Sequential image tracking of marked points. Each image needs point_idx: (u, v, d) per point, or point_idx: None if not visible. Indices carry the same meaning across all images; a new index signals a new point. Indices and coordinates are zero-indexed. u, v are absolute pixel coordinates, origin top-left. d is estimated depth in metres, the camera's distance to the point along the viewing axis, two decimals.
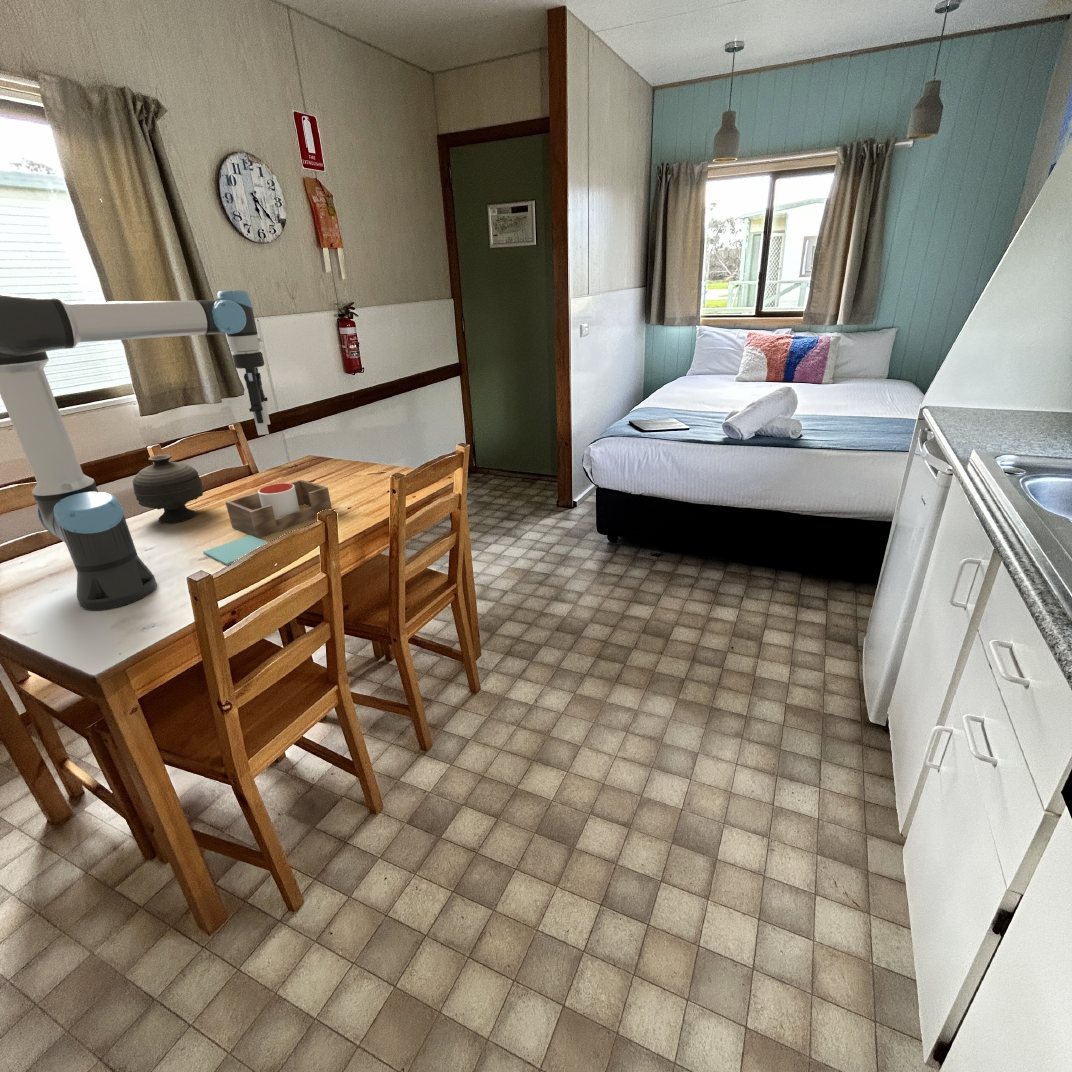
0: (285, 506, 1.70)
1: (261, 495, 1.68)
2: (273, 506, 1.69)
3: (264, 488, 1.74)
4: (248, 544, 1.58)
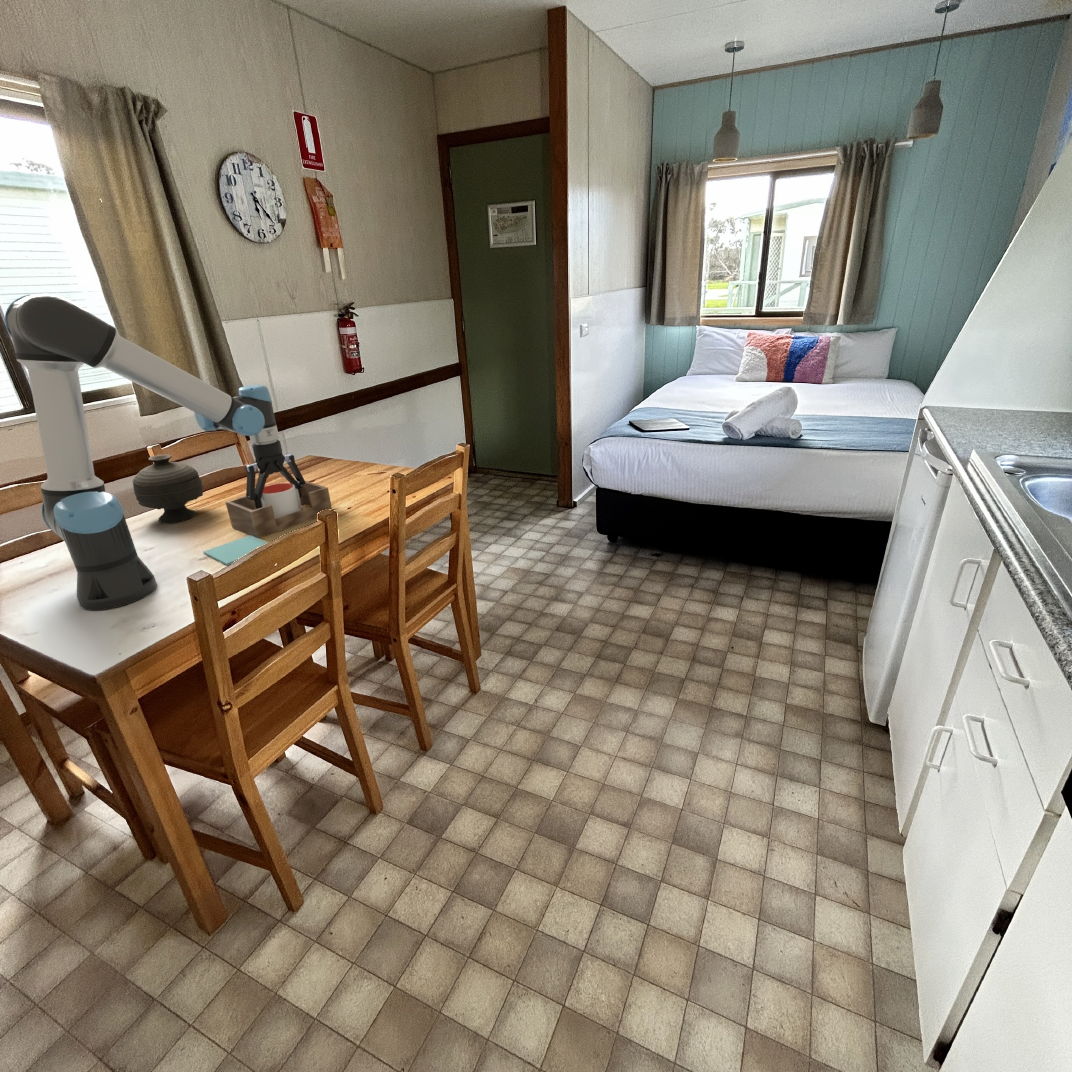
0: (285, 506, 1.70)
1: None
2: (273, 506, 1.69)
3: (264, 488, 1.74)
4: (248, 544, 1.58)
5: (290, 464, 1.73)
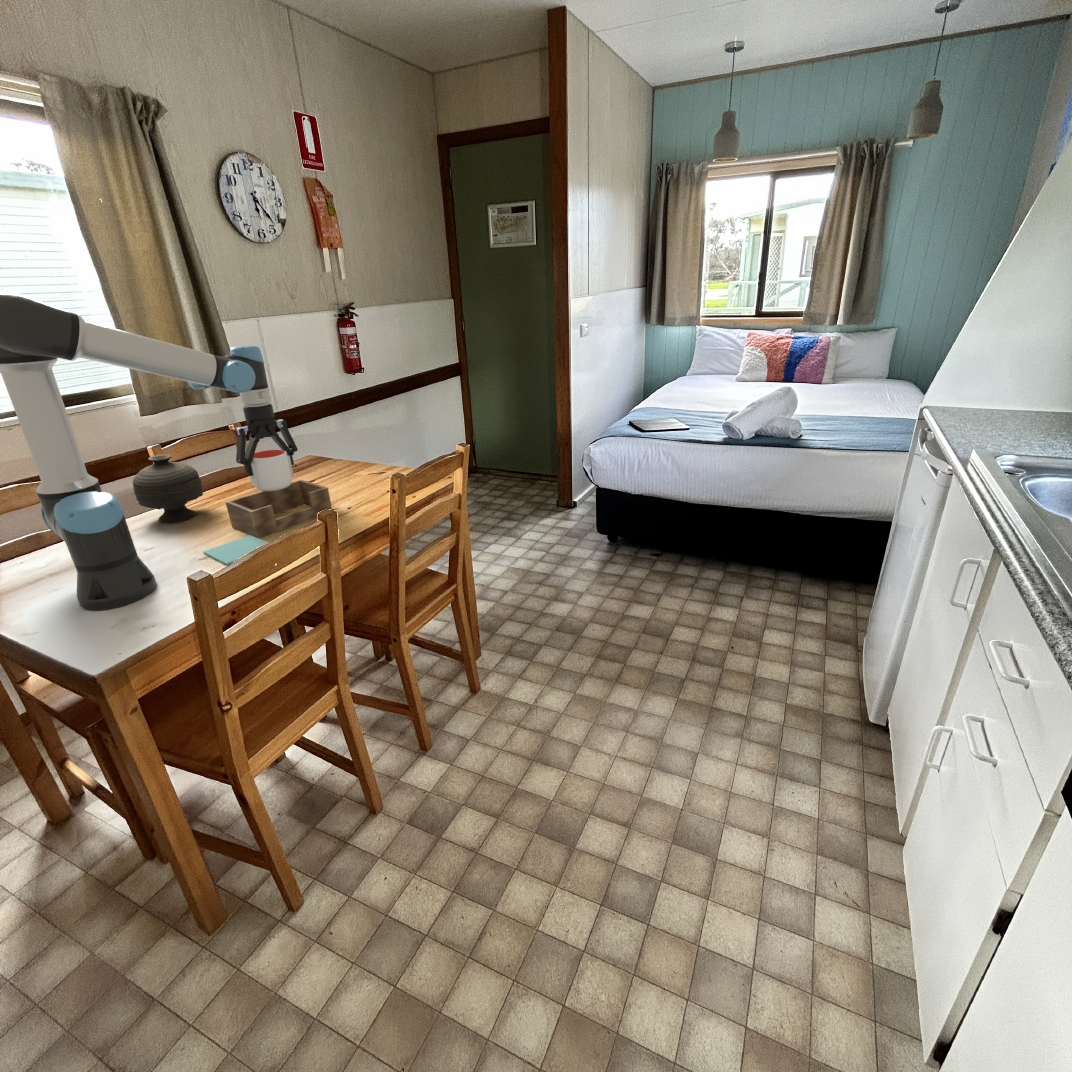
0: (276, 471, 1.66)
1: (252, 460, 1.64)
2: (264, 471, 1.64)
3: (255, 454, 1.69)
4: (248, 544, 1.58)
5: (282, 430, 1.69)
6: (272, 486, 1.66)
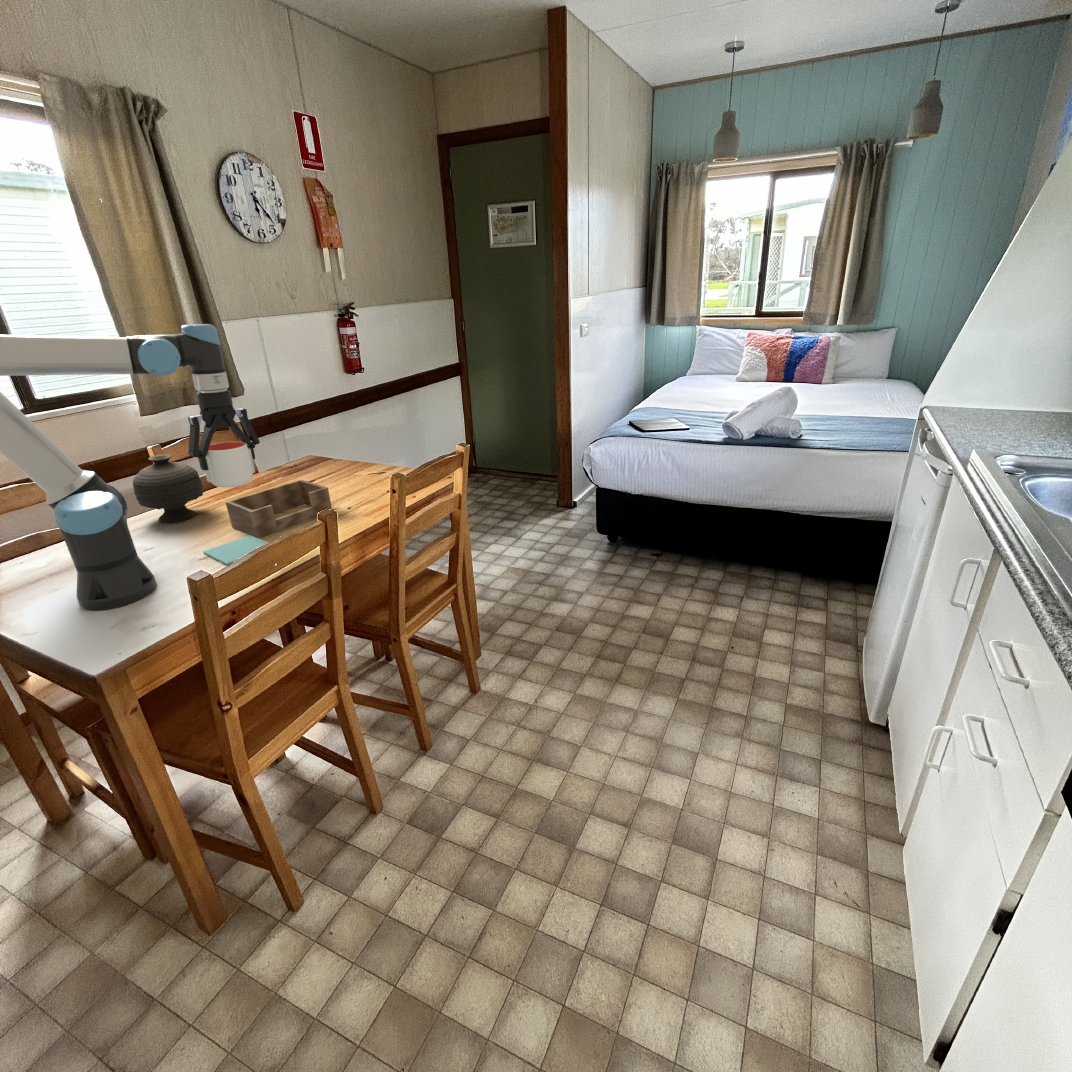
0: (235, 466, 1.49)
1: (207, 452, 1.47)
2: (221, 465, 1.47)
3: (211, 446, 1.52)
4: (248, 544, 1.58)
5: (242, 419, 1.52)
6: (230, 482, 1.49)
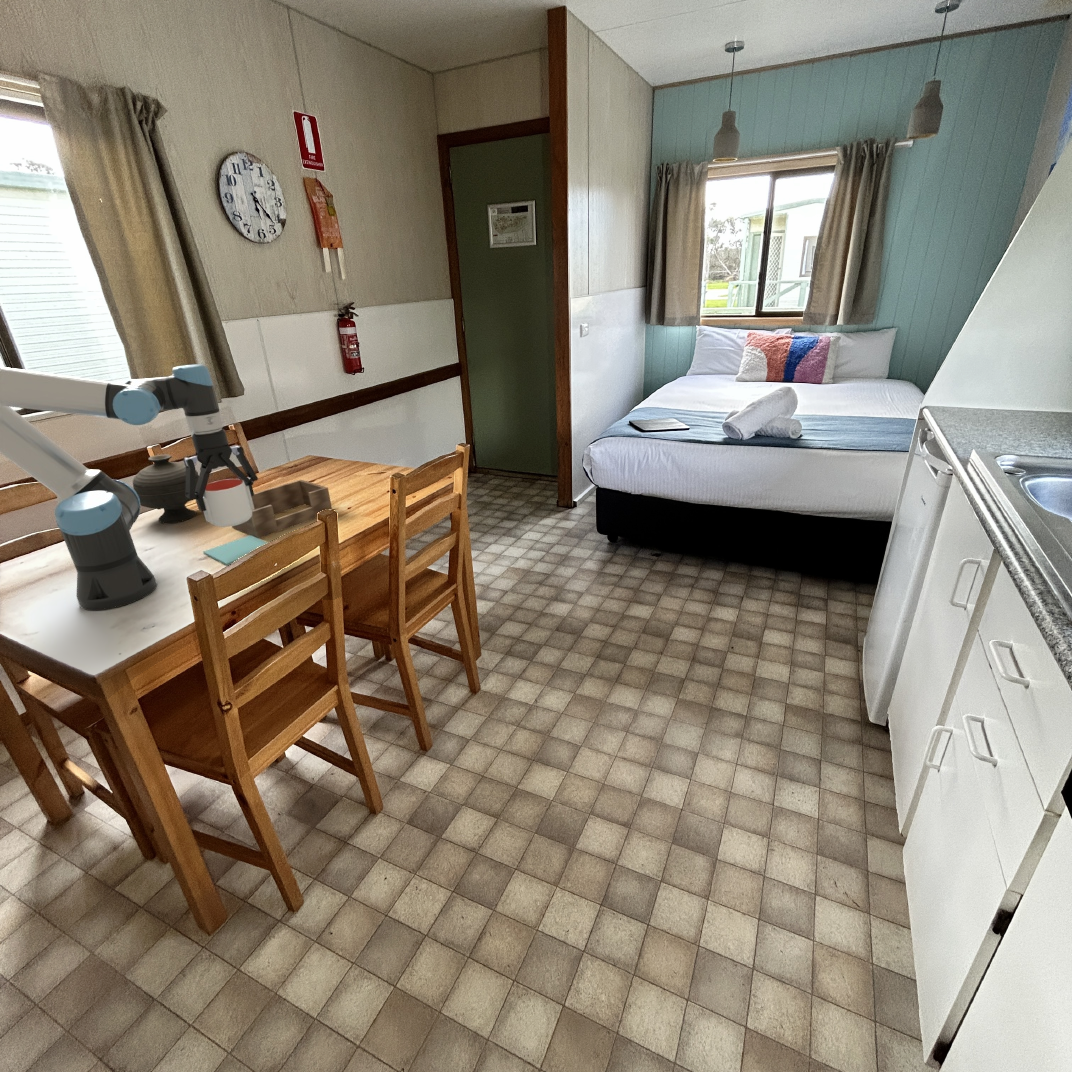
0: (232, 505, 1.47)
1: (204, 493, 1.45)
2: (218, 505, 1.46)
3: (209, 485, 1.50)
4: (248, 544, 1.58)
5: (239, 457, 1.50)
6: (228, 521, 1.48)
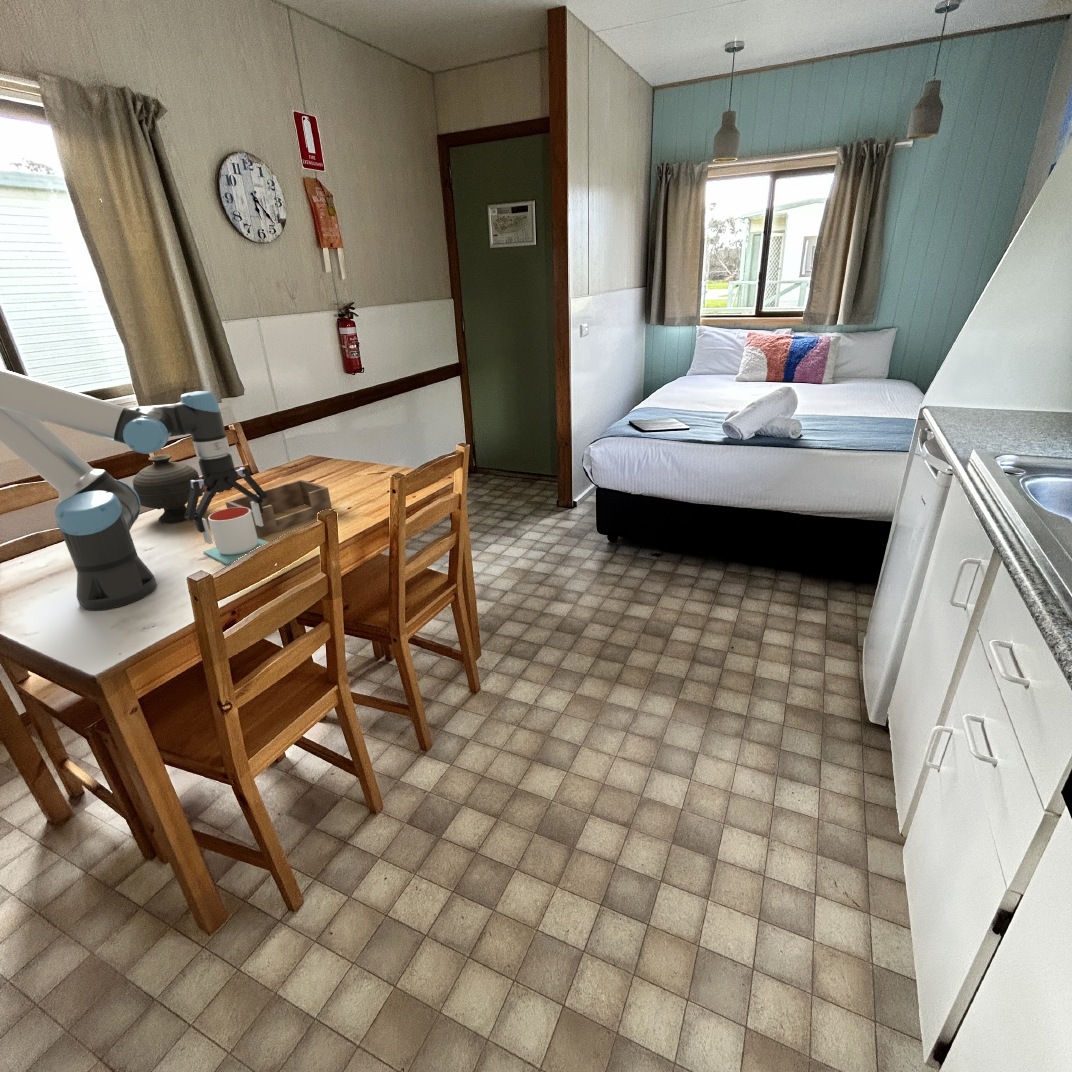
0: (239, 534, 1.50)
1: (211, 522, 1.48)
2: (225, 534, 1.49)
3: (216, 513, 1.53)
4: None
5: (245, 478, 1.53)
6: (235, 550, 1.51)
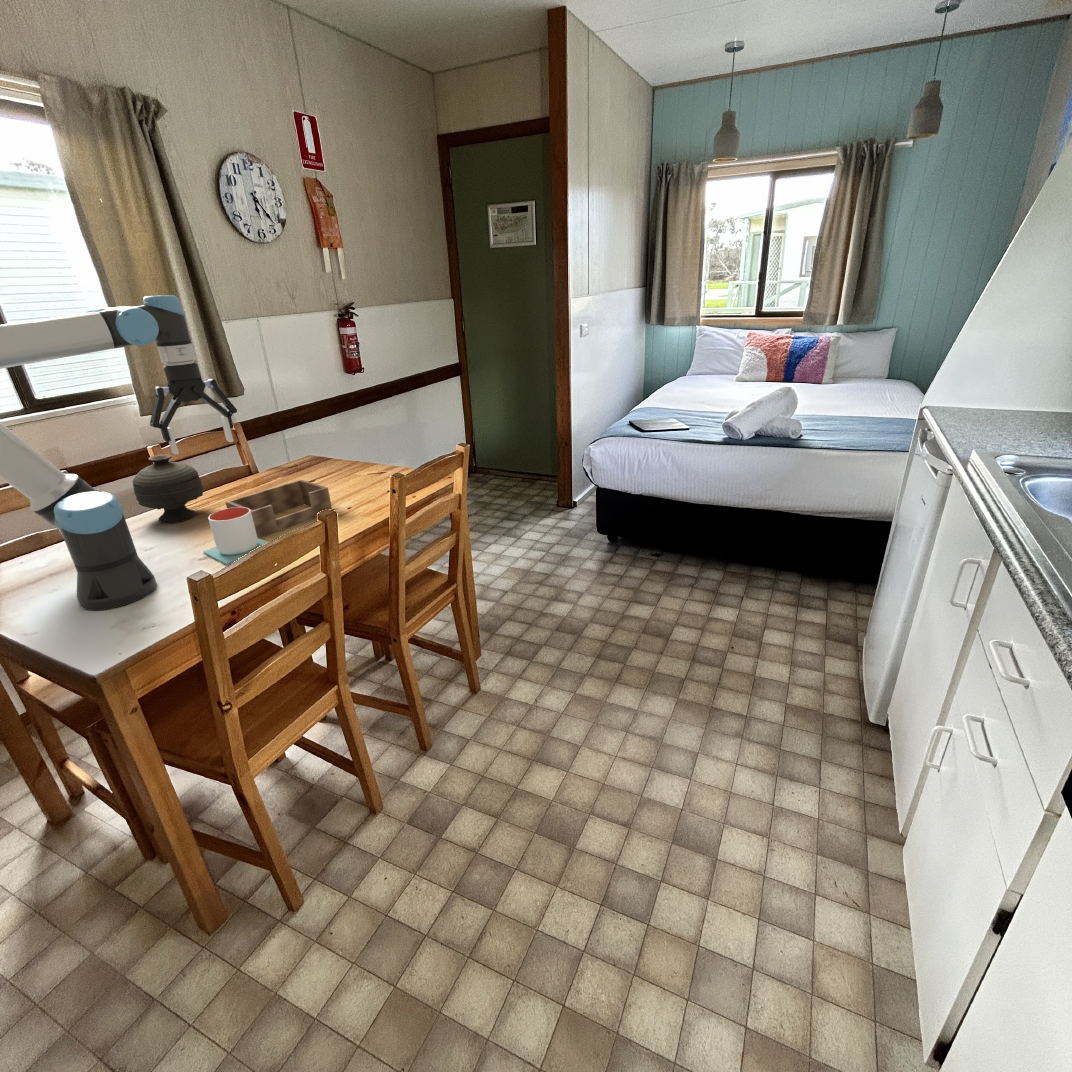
0: (239, 534, 1.50)
1: (211, 522, 1.48)
2: (225, 534, 1.49)
3: (216, 513, 1.53)
4: None
5: (214, 390, 1.51)
6: (235, 550, 1.51)
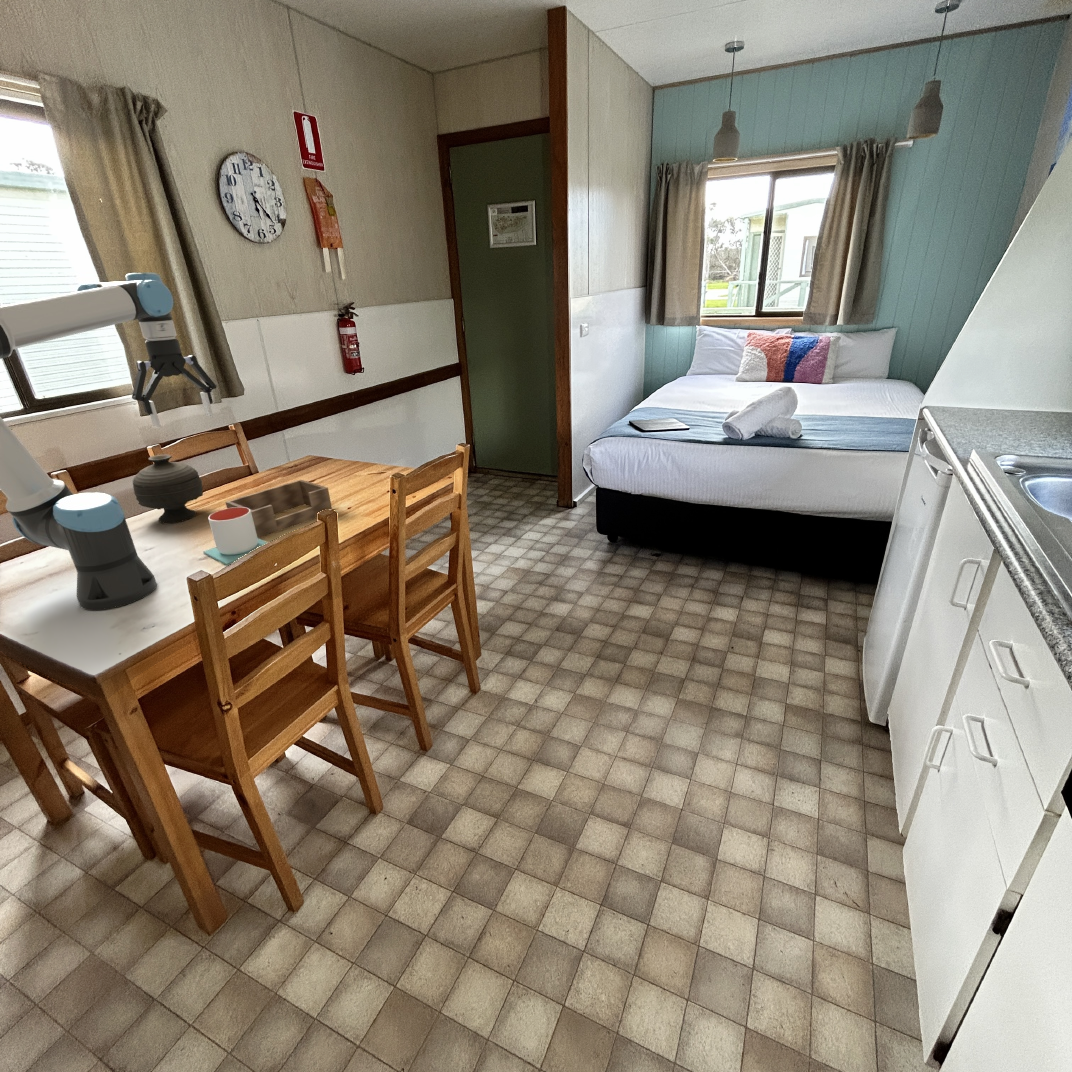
0: (239, 534, 1.50)
1: (211, 522, 1.48)
2: (225, 534, 1.49)
3: (216, 513, 1.53)
4: None
5: (194, 366, 1.57)
6: (235, 550, 1.51)
